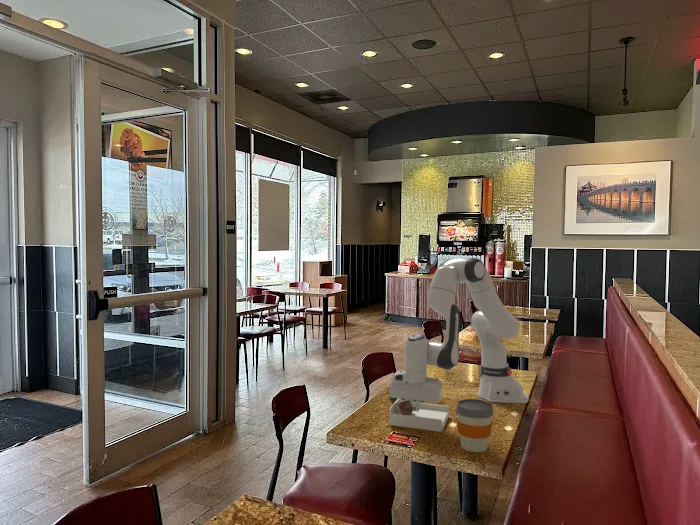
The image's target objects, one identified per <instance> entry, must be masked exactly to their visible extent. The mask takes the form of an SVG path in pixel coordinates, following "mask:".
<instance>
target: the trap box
mask: <svg viewBox="0 0 700 525" xmlns="http://www.w3.org/2000/svg"><path fill="white" fill-rule="evenodd" d="M401 400H402V399H401V398H398V399H397V400H394V401H395V402H394V403H393V404H391V406H390V407H389V411H388V412H389V415H388V416H389V418H388V421H389V423H388V424H389V426H393V427H394V426H395V427H400V428H401V427H402V428H411V429H417V430H424V431H432V432H438V433H439V432H440V433H442V432H443V429H444V428H445V425H446V423H447V421H448V420H449V417H450V416H449V415H450V406H449V405H444V404H435V403H429V402H428V403H426V402H420V403H419V405H418V410H417V411H413V412H412V413H409V414H404V415H401V413H400V410H399V406H398V403H399V402H400V401H401ZM413 403H414V405H415V406H416V405H417V403H416V401H413Z"/></svg>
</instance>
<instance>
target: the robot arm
mask: <svg viewBox="0 0 700 525" xmlns="http://www.w3.org/2000/svg"><path fill="white" fill-rule="evenodd" d="M460 284H461V285H462V284H466V285H467V288H468V291H469V294H470V296H471V299H472V302H473V305H474V307H475V308H476V309H477V311H475V312H474V313H473V314H472V316H471V319H470V324H471V327H472V328H473V329H474V331H475V333H476V334H477V337H478V340H479V343H480V348H481V350H480V351H481V355H480V356H481V364H480V367H479V376H480V381H479V388H478V391H477V394H476V395H477V396H478V397H479V398H481V399H482V400H483V399H484V400H485V401H487V402H489V403H491V402H492V403H502V404H503V403H504V404H505V403H506V404H521V405H522V404H527V403H528V402H529V398H530V397H529V396H528V394H527V393H526V392H524V387H523V385H522V383H521V382H520V381H519V380H517V379H516V378H515V377H513V375H512V369H511V367H510V366H507V355H508V351H507V349H506V346H505V345H504V344H503V343H502V340H501V339H513V338H516V337H517V335H518V334H519V332H520V329H521V328H520V326H521V325H520V322H519V320H518V318H516V317H515V316H514V315H513V314H512V313H511V312H509V310H508V309H507V307H506V306H505V305H504V304H503V302H502V301H501V299H500V297H499V295H498V292H497V289H496V287H495V285H494V282H493V280H492V276H491V275H490V272H489V271H488V268H486V266H485V264H484V263H483V261H482V260H481V259H479V258H477V257H458V258H453V259H452V258H451V259H450V258H449V259H445V260H444V261H442V262H441V263H440V264H439V266H438V268H436V270H435V272H434V274H433V276H432V278H431V282H430V285H429V289H428V292H427V304H428V305H429V307H430V308H431V309H432V311H433V312H436V313H437V314H438V315H441V316H442V317H443V318H444V320H445V322H446V324H445V325H446V326H445V328H446V329H445V341H444V342H439V341H433V340H430V339H428V338H427V337H426V335H424V334H421V333H416V334H414V333H413V334H411V335H409V336H407V337H406V341H405V347H404V361H405V364H404V367H403V370H398V371H396V372H395V373H393V374H392V381H391V383H390V387H389V391H390V393H389V392H388V395H389V394H390V395H389V397H390V396H391V397H392V398H401V399H410V404H411V406H412V411H417V410H418V405H419V403H422V402H428V403H439V402H440V401H441V400H442V391H441V390H442V388H443V381H442V380H441V379H439V378H437V377H429V376H428V368H427V365H428V366H432V367H436V368H440V369H444V370H446V371H449V370H451V369H453V368H454V367H456V366H457V365H458V362H459V360H460V352H459V341H460V340H459V337H460V336H459V335H460V320H461V319H460V309H459V307H458V305H456V293H457V287H458V285H460ZM392 398H391V399H392ZM413 402H416V403H417V405H416V406H415V405H414V403H413Z"/></svg>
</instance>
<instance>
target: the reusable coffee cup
mask: <svg viewBox="0 0 700 525" xmlns="http://www.w3.org/2000/svg"><path fill="white" fill-rule="evenodd" d="M455 410H456V413H457V418H456V423H457V432H458V434H459V439H460V440H459V442H460V447H461V448H462V449H463V450H465V451H467V452H470V453H483V452H486V451H487V450H488V446H489V440H490V436H491V434H492V429H493V428H492V427H493V420H492V419H493V416H494V405H493V404H492V403H491V402H490V401H488V400H483V399H477V398H463V399H460V400H458V401H457V402H456V409H455Z"/></svg>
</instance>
